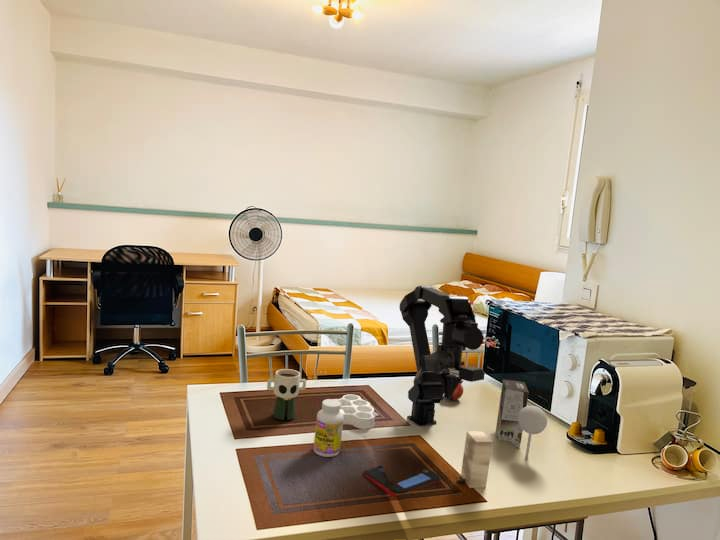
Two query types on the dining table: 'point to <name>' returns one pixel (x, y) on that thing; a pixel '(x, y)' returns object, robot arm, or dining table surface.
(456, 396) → the pomegranate
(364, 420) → the white cup cluster
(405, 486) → the game console
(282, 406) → the character mug
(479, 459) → the white rectangular box
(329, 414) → the supplement bottle
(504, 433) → the coffee box
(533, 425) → the lollipop
